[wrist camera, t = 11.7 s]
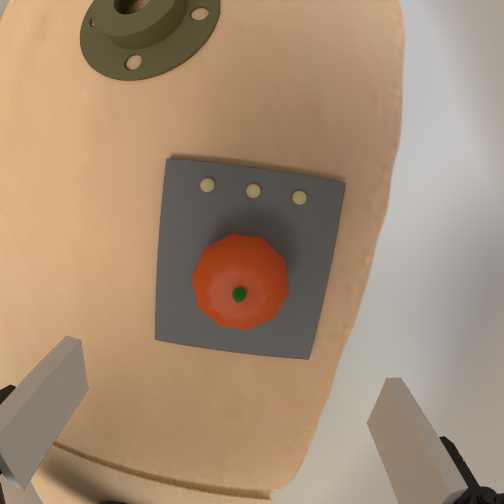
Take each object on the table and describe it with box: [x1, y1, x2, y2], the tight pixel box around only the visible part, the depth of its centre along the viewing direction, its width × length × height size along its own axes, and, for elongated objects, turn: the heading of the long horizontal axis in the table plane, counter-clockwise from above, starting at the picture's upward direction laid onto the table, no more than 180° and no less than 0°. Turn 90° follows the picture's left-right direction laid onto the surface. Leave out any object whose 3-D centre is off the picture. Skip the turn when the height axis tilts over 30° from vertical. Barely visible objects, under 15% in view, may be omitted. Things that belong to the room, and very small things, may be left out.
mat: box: [155, 158, 346, 360], centre depth 29 cm, size 18×16×1 cm
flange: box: [80, 0, 220, 81], centre depth 22 cm, size 5×15×15 cm
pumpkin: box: [191, 234, 289, 331], centre depth 26 cm, size 8×8×7 cm
